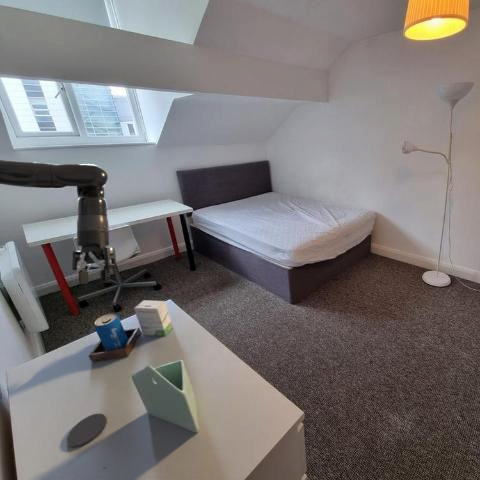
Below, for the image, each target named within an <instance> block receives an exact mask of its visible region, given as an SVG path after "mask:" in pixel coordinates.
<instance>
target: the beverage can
mask: <svg viewBox="0 0 480 480" xmlns="http://www.w3.org/2000/svg"><path fill="white" fill-rule="evenodd" d="M124 329H125V328H124V327H123V324H122V322H121V319H120V317H119V316H118V315H117V314H115V313H107V314H104V315H101V316H100V317H98V318H97V319H96V320H95V321H94V330H95V332H96V334H97V335H98V338H99V341H100V340H101V342H102V344H103V346H104V348H105V351H112V350H118V349H124V347H125V345H126V344H127V342H128V341H129V338H127V335H126V333H125V331H124Z"/></svg>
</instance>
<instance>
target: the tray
mask: <svg viewBox="0 0 480 480" xmlns="http://www.w3.org/2000/svg"><path fill="white" fill-rule="evenodd" d="M123 329H124V331H125V333H126V335H127V338H128V340H129V341H128V342H127V344H126V345H125V347H124V349H118V350H112V351H106V350H105V348H104V346H103V344H102V342H101V340H100V339H99V341H98V342H97V343H96V344H95V346H94V347H93V349H92V350H91V352H90V353H89V354H88V358H89V360H90V361H91V363H96V362H103V361H104V362H105V361H110V360H117V359H122V358H128V357H129V356H130V354H131V353H132V351H133V349H134V347H135V346H136V344H137V343H138V341H139V340H140V337H141V335H143V333H142V330H141V327H140V326H137V327H132V328H123Z"/></svg>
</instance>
